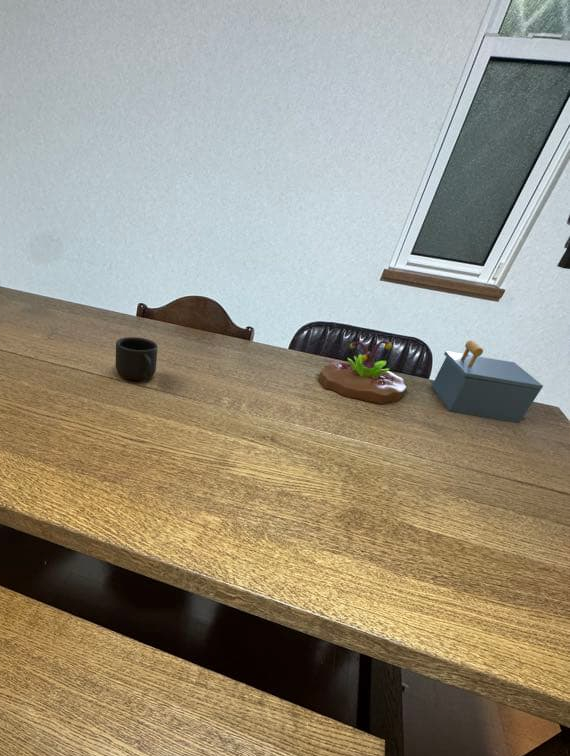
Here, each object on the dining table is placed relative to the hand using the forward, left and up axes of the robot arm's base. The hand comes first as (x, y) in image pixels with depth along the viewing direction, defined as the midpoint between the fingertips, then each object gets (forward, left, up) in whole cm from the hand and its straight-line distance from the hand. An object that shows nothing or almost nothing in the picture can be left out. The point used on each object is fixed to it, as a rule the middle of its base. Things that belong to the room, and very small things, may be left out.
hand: (563, 267), depth 97 cm
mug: (+86, +29, -29) cm, 95 cm away
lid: (+7, +9, -20) cm, 24 cm away
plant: (+34, +10, -29) cm, 46 cm away
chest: (+7, +9, -28) cm, 31 cm away
